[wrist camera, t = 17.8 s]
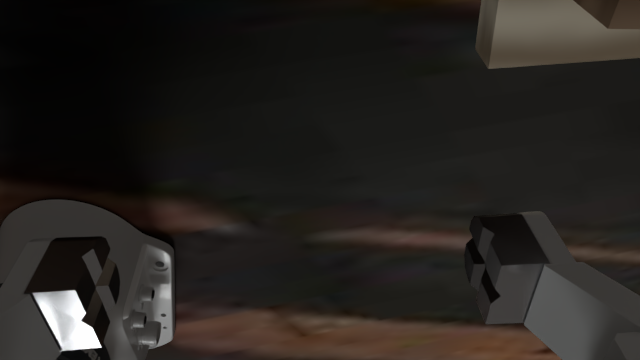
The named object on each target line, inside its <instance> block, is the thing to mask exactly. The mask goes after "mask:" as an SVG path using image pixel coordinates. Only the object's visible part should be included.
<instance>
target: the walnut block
mask: <svg viewBox="0 0 640 360" xmlns="http://www.w3.org/2000/svg"><path fill="white" fill-rule="evenodd" d="M573 1H575V2H576V3H577V4H578V5H579V6H581V7H582V8H583V9H584V10H585V11H587V12H588V13H589V14H590V15H592V16H593V17H594V18H595V19H596V20H598V21H599V22H600V23H601V24H603V25H604V26H605V27H606V28H607V29H640V0H573Z"/></svg>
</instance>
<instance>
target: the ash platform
mask: <svg viewBox="0 0 640 360" xmlns="http://www.w3.org/2000/svg"><path fill="white" fill-rule="evenodd" d="M475 49H476V51H477V52H478V54H479V55H480V57H481V58H482V60H483V61H484V63H485V64H486V66H487V67H488V69H492V68H506V67H520V66H533V65H547V64H561V63H575V62H589V61H602V60H616V59H630V58H640V29H607V28H606V27H605V26H604V25H603V24H601V23H600V22H599V21H598V20H596V19H595V18H594V17H593V16H592V15H590V14H589V13H588V12H587V11H585V10H584V9H583V8H582V7H581V6H579V5H578V4H577V3H576V2H575V1H573V0H482V1H481V8H480V16H479V24H478V32H477V40H476V48H475Z"/></svg>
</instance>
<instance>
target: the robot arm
mask: <svg viewBox="0 0 640 360" xmlns="http://www.w3.org/2000/svg"><path fill="white" fill-rule="evenodd" d="M469 230H470V232H471V235H472V237H473V238H472V239H471V240H470V241H469V242H468V243H467V244H466V248H465V254H464V257H465V269H466V274H467V277H468V280H469V283H470V285H472V286H473V287H474V288H476V289H477V290H478V294H477V298H476V301H477V303H478V306H479V308H480V311H481V314H482V316H483V319H484V321H485V324H500V323H524V325H525V326H526V327H527V328H528V329H529V330H530V331H532V332H533V333H534V334H535V335H536V336H537V337H538V338H539V339H540V340H541V341H543V342H544V343H545V344H546V345H547V346H548V347H549V348H550V349H551V350H552V351H554V352H555V353H556V354H557V355H558V356H559V357H560V358H561V359H562V360H640V296H639V295H637V294H636V293H634V292H632V291H631V290H629V289H627V288H625V287H624V286H622V285H620V284H619V283H617V282H615V281H614V280H612V279H610V278H609V277H607V276H605V275H604V274H602V273H600V272H599V271H597V270H595V269H594V268H592V267H590V266H588V265H587V264H585V263H583V262H577V263H576V261H575V260H574V258H573V257H572V255H571V254H570V252H569V250H568V249H567V247H566V246H565V244H564V243H563V241H562V240H561V238H560V237H559V235H558V233H557V232H556V230H555V229H554V227H553V226H552V224H551V223H550V221H549V219H548V218H547V216H546V215H545V214H544V213H543V212H541V211H537V212H523V213H518V214H517V213H513V214H497V215H481V216H474V217H473V218H472V220H471V224H470V228H469ZM160 261H161V262H160ZM174 334H175V274H174V250H173V248H172V247H171V246H170V245H169V244H167V243H165V242H163V241H161V240H158V239H156V238H153V237H150V236H148V235H145V234H143V233H141V232H140V231H138V230H137V229H136V228H134V227H133V226H132V225H130V224H129V223H128V222H126V221H125V220H123V219H122V218H120V217H119V216H117V215H115V214H113V213H111V212H109V211H107V210H105V209H102V208H100V207H97V206H94V205H90V204H87V203H83V202H78V201H71V200H43V201H37V202H33V203H29V204H26V205H24V206H21V207H19V208H18V209H16V210H14V211H13V212H12V213H10V214H9V215H8V216H7V217H6V219H5V220H4V221H3V223H2V225H1V227H0V360H145V359H146V355H147V352H148V349H152V348H156V347H159V346H161V345H164V344H166V343H168V342H170V341H171V340H172V339H173V337H174Z"/></svg>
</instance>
